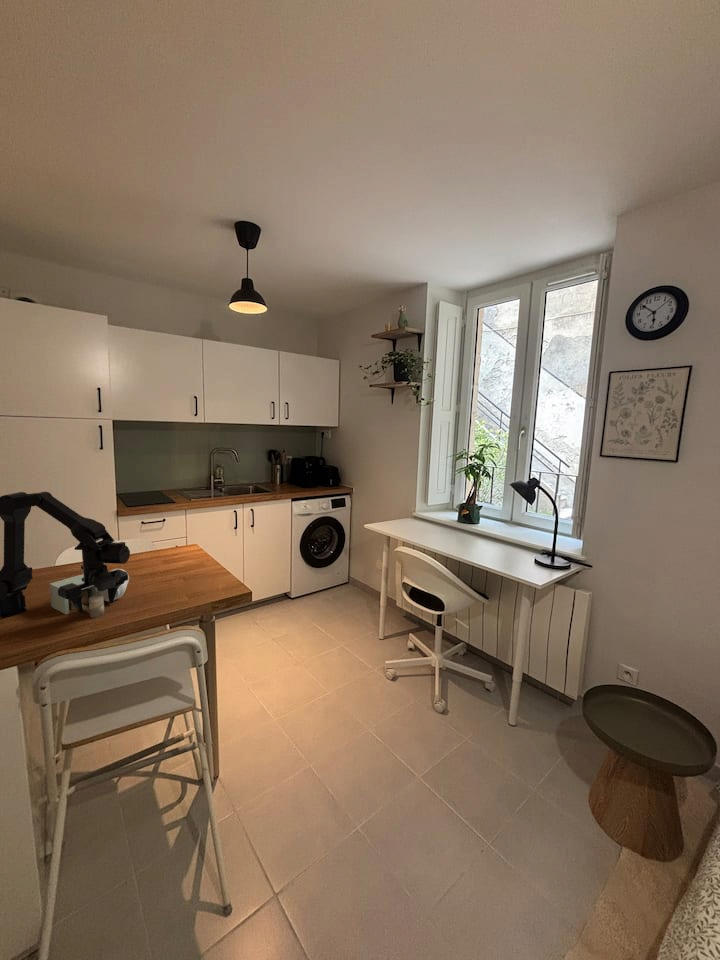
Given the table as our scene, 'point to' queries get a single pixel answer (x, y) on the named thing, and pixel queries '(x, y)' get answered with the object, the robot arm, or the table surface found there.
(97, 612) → the beige dumbbell
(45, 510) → the robot arm
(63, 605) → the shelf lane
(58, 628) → the table surface
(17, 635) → the table surface
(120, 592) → the pill bottle
